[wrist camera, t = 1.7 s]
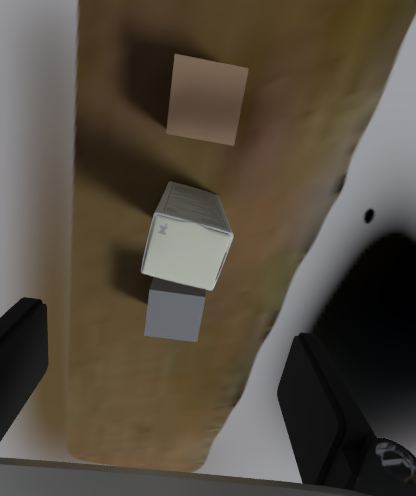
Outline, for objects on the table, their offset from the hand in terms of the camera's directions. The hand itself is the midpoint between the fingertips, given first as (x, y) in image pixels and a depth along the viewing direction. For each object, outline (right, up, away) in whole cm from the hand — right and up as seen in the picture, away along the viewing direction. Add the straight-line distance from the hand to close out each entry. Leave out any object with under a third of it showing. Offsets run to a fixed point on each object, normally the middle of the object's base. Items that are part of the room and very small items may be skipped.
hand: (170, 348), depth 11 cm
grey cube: (-2, -1, +21) cm, 21 cm away
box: (0, +8, +18) cm, 19 cm away
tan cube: (+1, +16, +14) cm, 21 cm away
